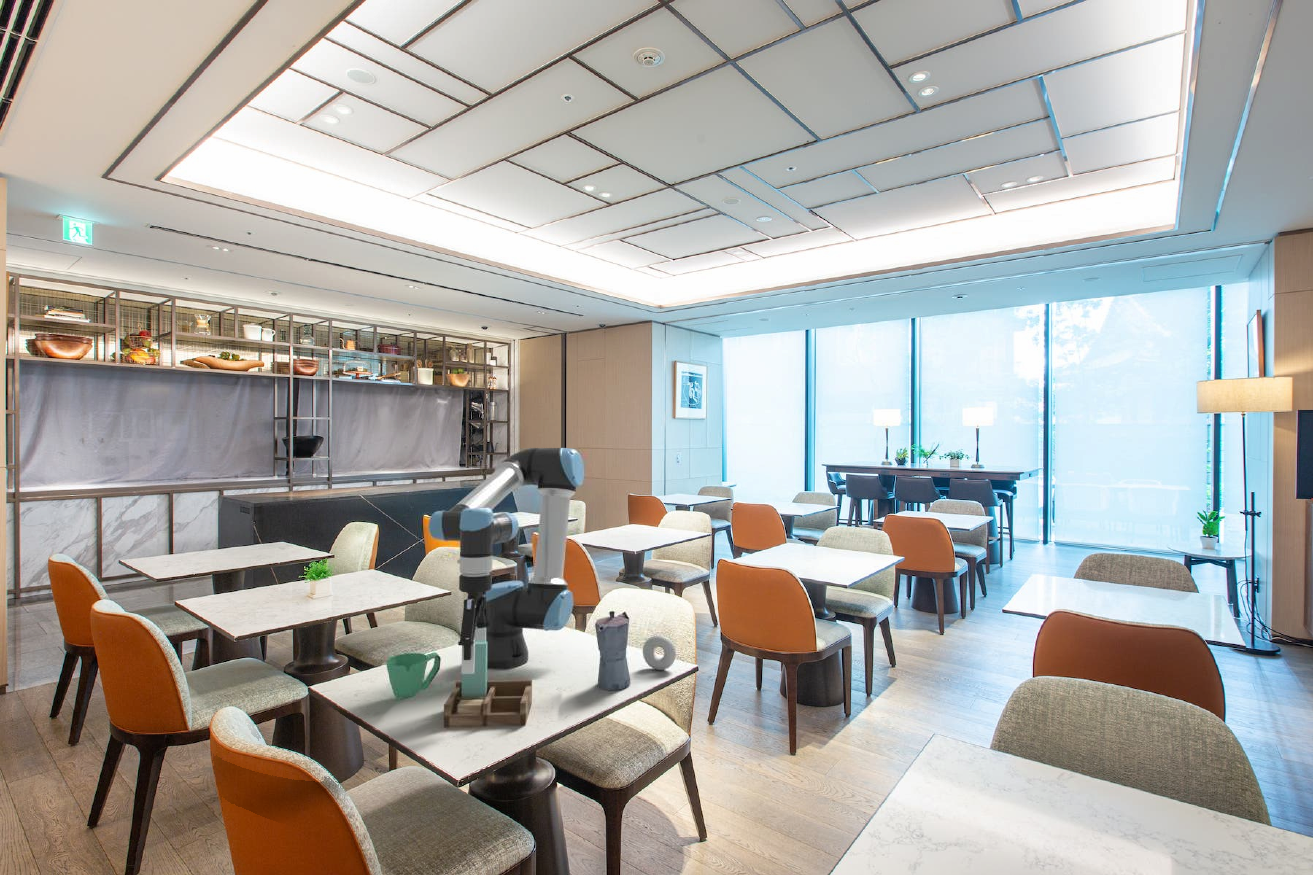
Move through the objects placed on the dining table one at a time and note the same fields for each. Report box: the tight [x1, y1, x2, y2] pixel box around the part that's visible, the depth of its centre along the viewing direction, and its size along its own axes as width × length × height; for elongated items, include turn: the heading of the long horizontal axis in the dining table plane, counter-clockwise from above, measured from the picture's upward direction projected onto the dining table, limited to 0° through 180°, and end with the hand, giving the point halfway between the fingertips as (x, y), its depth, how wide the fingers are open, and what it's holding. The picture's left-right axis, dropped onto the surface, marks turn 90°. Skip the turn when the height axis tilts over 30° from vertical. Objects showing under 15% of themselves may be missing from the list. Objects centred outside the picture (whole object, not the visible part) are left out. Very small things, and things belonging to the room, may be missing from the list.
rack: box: [443, 678, 533, 729], centre depth 150 cm, size 12×18×8 cm, turn 94°
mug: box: [385, 652, 442, 702], centre depth 165 cm, size 15×10×10 cm
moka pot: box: [594, 610, 631, 691], centre depth 174 cm, size 10×15×20 cm, turn 158°
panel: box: [461, 642, 488, 697], centre depth 152 cm, size 2×6×16 cm, turn 94°
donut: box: [642, 634, 677, 671], centre depth 185 cm, size 10×4×10 cm, turn 71°
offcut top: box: [458, 700, 484, 714], centre depth 147 cm, size 3×5×2 cm, turn 94°
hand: (474, 663), depth 152 cm, fingers open, 13 cm apart
